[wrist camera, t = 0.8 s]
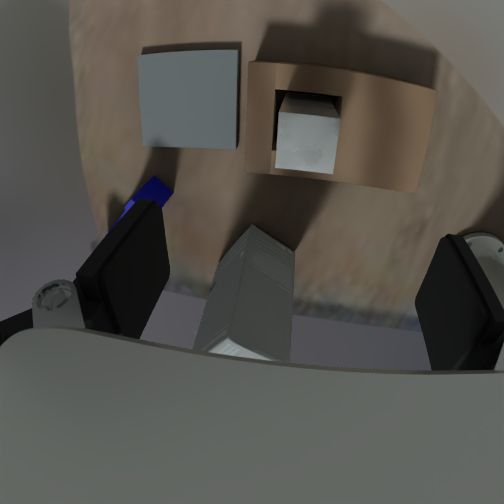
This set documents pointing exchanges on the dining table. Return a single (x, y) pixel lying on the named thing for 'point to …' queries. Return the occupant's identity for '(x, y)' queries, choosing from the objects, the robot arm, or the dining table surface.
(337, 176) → the wooden block with hole
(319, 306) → the dining table surface
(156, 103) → the rubber mat
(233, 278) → the skincare box
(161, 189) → the cable clip
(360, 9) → the dining table surface
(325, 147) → the steel bar
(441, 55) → the dining table surface
